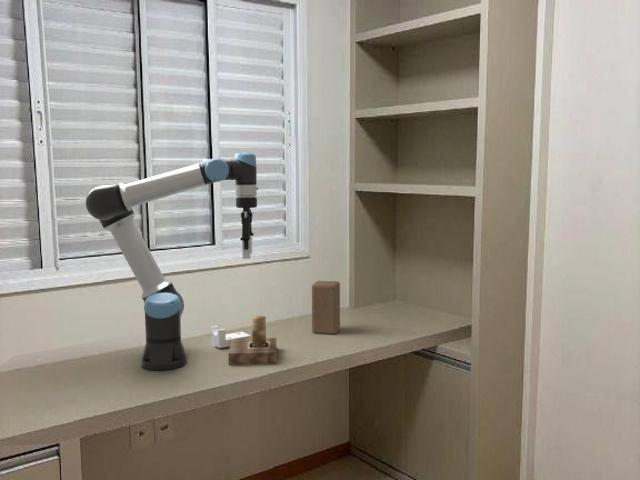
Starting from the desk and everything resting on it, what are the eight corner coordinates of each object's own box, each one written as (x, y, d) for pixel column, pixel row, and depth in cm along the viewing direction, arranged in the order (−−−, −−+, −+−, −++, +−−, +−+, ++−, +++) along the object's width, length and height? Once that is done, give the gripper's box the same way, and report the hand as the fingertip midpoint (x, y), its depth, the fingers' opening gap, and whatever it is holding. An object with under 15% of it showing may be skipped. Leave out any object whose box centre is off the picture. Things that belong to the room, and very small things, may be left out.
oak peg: (251, 358, 218) (251, 319, 216) (252, 354, 223) (252, 316, 221) (266, 358, 218) (265, 319, 217) (266, 354, 223) (266, 315, 222)
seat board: (228, 364, 211) (228, 353, 211) (232, 349, 229) (232, 338, 229) (275, 363, 212) (275, 352, 212) (276, 348, 230) (276, 337, 230)
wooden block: (336, 334, 248) (335, 285, 246) (311, 333, 250) (311, 284, 248) (340, 328, 258) (340, 280, 256) (316, 327, 260) (316, 280, 258)
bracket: (219, 350, 229) (218, 330, 228) (211, 346, 235) (210, 326, 234) (250, 344, 236) (250, 325, 235) (242, 340, 242) (241, 321, 241)
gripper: (255, 198, 212) (256, 260, 214) (258, 195, 236) (259, 251, 239) (233, 198, 212) (234, 261, 214) (238, 195, 236) (239, 251, 238)
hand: (247, 256), depth 226 cm, fingers open, 12 cm apart
